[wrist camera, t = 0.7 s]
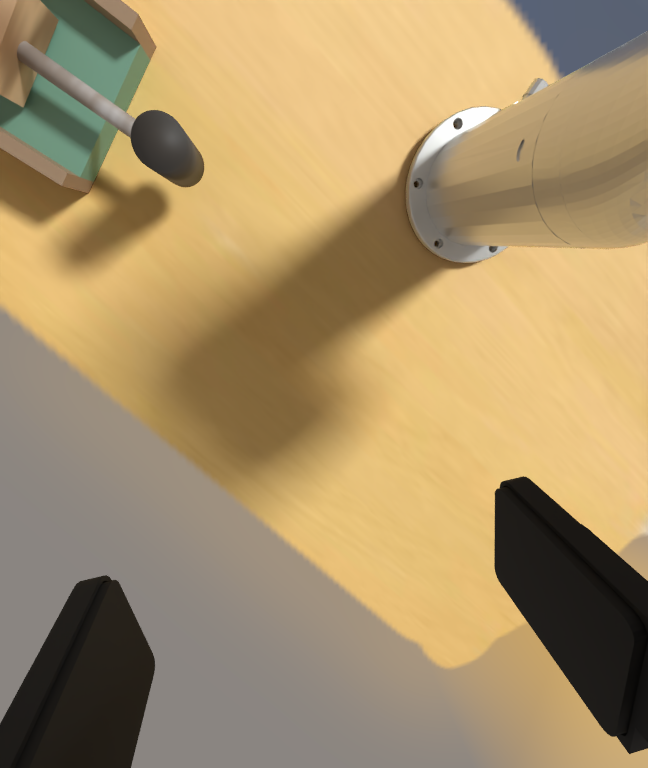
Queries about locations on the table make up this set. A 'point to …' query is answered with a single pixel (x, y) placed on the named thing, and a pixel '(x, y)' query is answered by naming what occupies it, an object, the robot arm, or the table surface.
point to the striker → (88, 93)
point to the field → (62, 112)
